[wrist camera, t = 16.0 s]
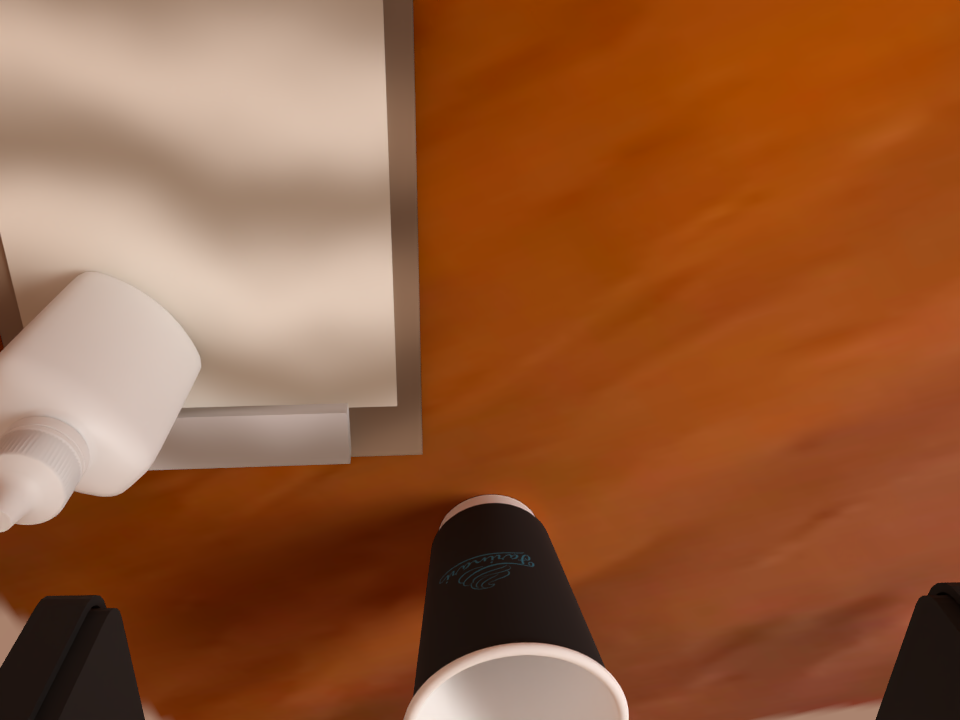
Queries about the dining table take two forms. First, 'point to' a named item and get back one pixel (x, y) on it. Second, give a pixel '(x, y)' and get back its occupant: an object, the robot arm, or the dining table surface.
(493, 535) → the dixie cup
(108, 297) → the eye dropper bottle
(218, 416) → the clipboard
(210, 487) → the dining table surface
